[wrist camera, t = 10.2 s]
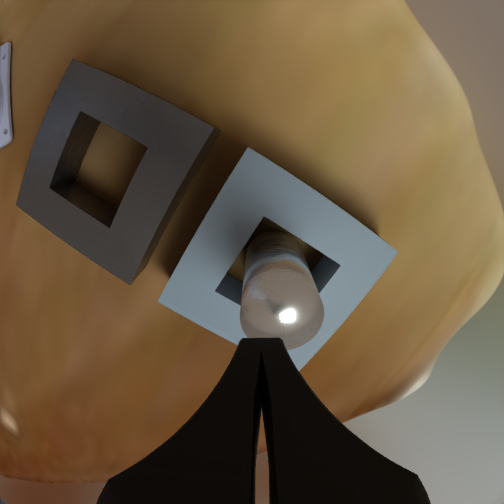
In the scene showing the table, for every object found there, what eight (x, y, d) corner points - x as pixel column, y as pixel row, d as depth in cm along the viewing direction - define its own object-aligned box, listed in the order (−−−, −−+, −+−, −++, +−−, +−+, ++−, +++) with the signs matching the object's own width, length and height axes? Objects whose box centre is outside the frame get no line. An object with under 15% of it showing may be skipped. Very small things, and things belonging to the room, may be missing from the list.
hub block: (170, 280, 20) (157, 301, 17) (249, 147, 17) (248, 146, 14) (292, 346, 21) (297, 372, 18) (379, 236, 18) (398, 252, 16)
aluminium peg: (233, 256, 19) (222, 315, 12) (276, 219, 18) (287, 261, 12) (271, 294, 20) (277, 362, 13) (313, 259, 19) (340, 318, 12)
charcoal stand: (41, 196, 18) (15, 204, 15) (96, 68, 15) (72, 59, 12) (146, 265, 19) (130, 285, 16) (221, 131, 16) (214, 127, 14)
